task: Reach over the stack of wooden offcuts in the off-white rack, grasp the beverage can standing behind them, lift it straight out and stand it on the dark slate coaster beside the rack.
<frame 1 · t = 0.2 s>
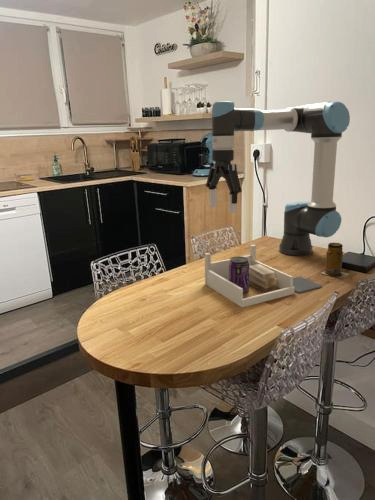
hand: (222, 209, 139), 28 cm above the breakfast bar, fingers open, 13 cm apart
offcut oak: (260, 281, 140), point 2 cm above the breakfast bar, touching offcut birch, offcut walnut
rack: (247, 288, 139), on the breakfast bar
beverage can: (238, 291, 137), on the breakfast bar
offcut walnut: (260, 287, 141), on the breakfast bar, touching offcut oak
condiment: (334, 274, 151), on the breakfast bar
offcut birch: (261, 275, 140), point 4 cm above the breakfast bar, touching offcut oak
coaster: (299, 285, 140), on the breakfast bar
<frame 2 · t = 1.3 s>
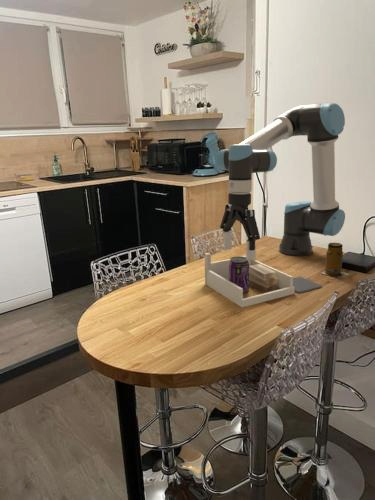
hand: (238, 254, 133), 14 cm above the breakfast bar, fingers open, 13 cm apart
nothing on the breakfast bar moved.
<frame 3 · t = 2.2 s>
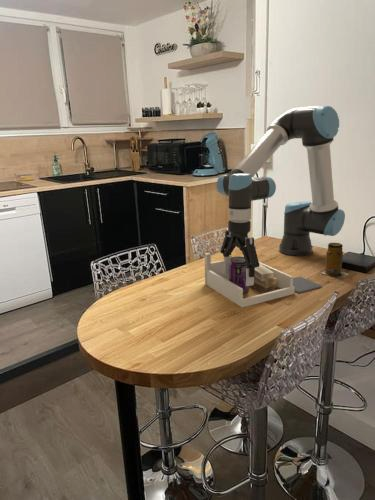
hand: (238, 279, 135), 5 cm above the breakfast bar, fingers open, 13 cm apart
nothing on the breakfast bar moved.
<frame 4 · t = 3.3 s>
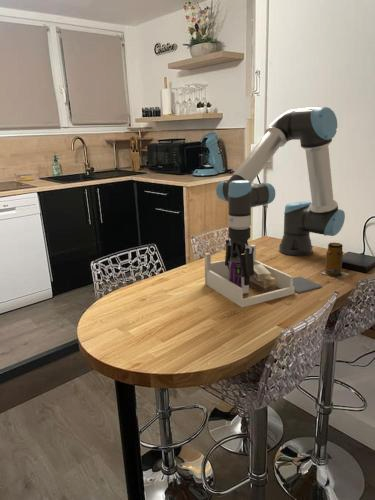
hand: (238, 289, 137), 1 cm above the breakfast bar, fingers closed on beverage can, 7 cm apart
beverage can: (238, 291, 137), on the breakfast bar, touching gripper
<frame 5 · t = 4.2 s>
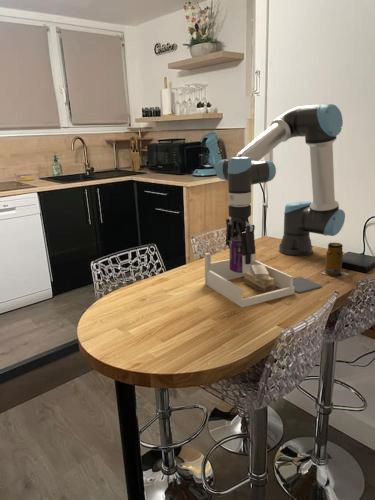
hand: (239, 268, 135), 8 cm above the breakfast bar, fingers closed on beverage can, 7 cm apart
beverage can: (239, 271, 135), point 7 cm above the breakfast bar, touching gripper
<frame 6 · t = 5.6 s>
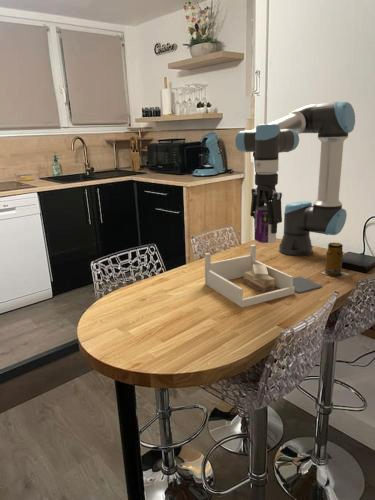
hand: (264, 239, 133), 18 cm above the breakfast bar, fingers closed on beverage can, 7 cm apart
beverage can: (264, 241, 134), point 17 cm above the breakfast bar, touching gripper
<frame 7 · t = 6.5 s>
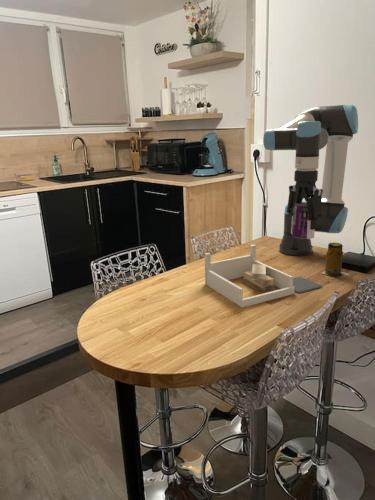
hand: (302, 235, 135), 19 cm above the breakfast bar, fingers closed on beverage can, 7 cm apart
beverage can: (302, 237, 135), point 18 cm above the breakfast bar, touching gripper
when the fingers open (3 cm above the breakfast bar, at t = 9.3 s): beverage can drops 1 cm, resting on coaster.
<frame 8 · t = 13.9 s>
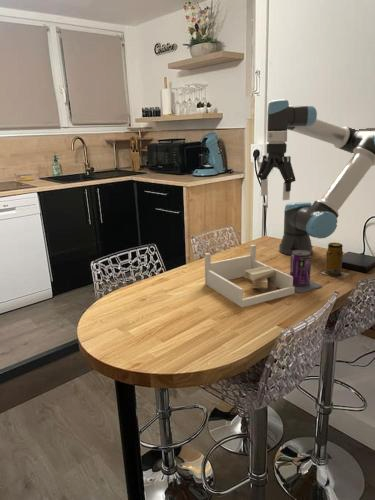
hand: (274, 197, 154), 29 cm above the breakfast bar, fingers open, 13 cm apart
beverage can: (299, 284, 140), resting on coaster
offcut walnut: (262, 287, 141), on the breakfast bar, touching offcut oak
at the end: beverage can 0.0 cm from the coaster (horizontally); beverage can tilted 0°; beverage can resting on coaster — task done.
